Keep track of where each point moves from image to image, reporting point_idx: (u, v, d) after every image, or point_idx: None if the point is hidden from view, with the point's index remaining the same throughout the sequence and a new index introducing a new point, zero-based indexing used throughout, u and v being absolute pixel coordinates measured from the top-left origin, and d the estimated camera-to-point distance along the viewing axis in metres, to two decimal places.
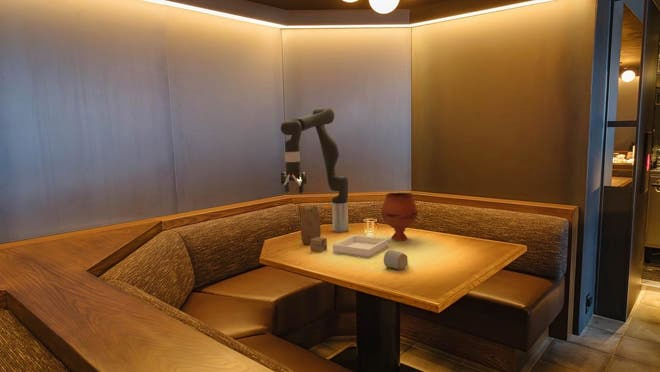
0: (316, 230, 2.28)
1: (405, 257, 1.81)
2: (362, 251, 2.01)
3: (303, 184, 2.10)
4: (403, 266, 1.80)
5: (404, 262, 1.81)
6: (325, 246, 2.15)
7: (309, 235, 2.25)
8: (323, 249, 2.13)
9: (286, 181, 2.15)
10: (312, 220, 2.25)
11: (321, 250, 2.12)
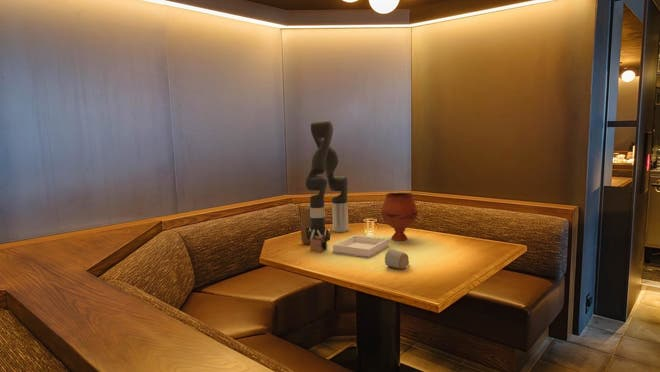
0: None
1: (406, 257, 1.81)
2: (362, 251, 2.01)
3: None
4: (404, 265, 1.81)
5: (405, 262, 1.81)
6: None
7: None
8: None
9: (312, 237, 2.14)
10: None
11: (321, 250, 2.12)
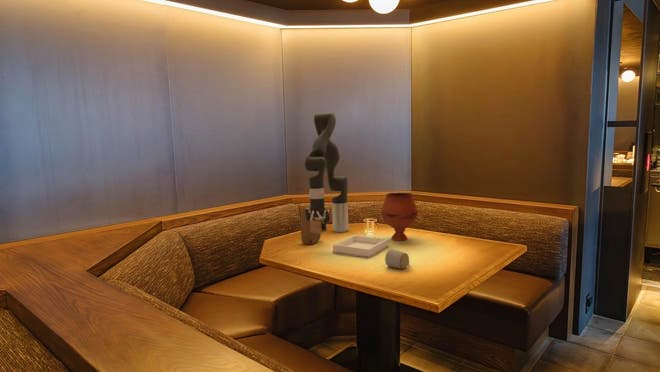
0: None
1: (406, 256, 1.81)
2: (362, 251, 2.01)
3: None
4: (404, 265, 1.81)
5: (406, 262, 1.82)
6: None
7: (309, 235, 2.25)
8: None
9: (311, 218, 2.13)
10: None
11: (321, 231, 2.11)
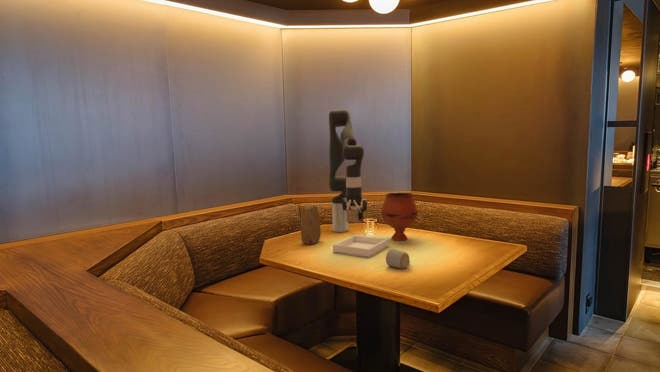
0: (316, 230, 2.28)
1: (407, 256, 1.82)
2: (362, 251, 2.01)
3: (363, 211, 2.07)
4: (405, 265, 1.81)
5: (406, 261, 1.82)
6: None
7: (309, 235, 2.25)
8: None
9: (348, 207, 2.11)
10: (312, 220, 2.25)
11: (357, 220, 2.08)
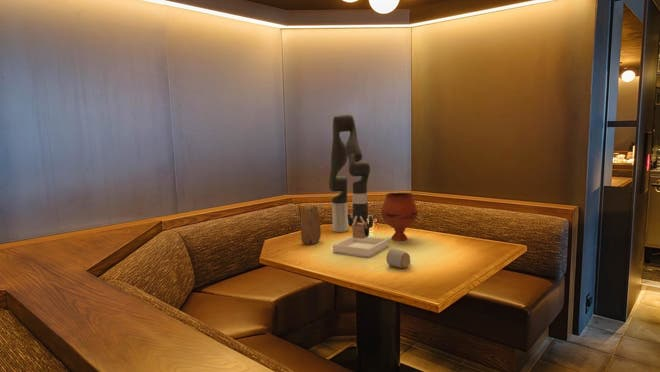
0: (316, 230, 2.28)
1: (408, 256, 1.82)
2: (362, 251, 2.01)
3: None
4: (406, 265, 1.82)
5: (407, 261, 1.82)
6: None
7: (309, 235, 2.25)
8: None
9: (354, 223, 2.12)
10: (312, 220, 2.25)
11: (364, 236, 2.09)
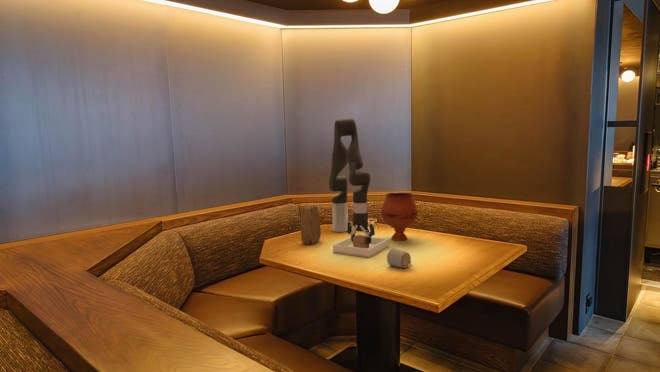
0: (316, 230, 2.28)
1: (408, 256, 1.82)
2: (362, 251, 2.01)
3: (372, 235, 2.08)
4: (406, 265, 1.82)
5: (407, 261, 1.82)
6: (367, 244, 2.13)
7: (309, 235, 2.25)
8: (366, 247, 2.12)
9: (353, 231, 2.13)
10: (312, 220, 2.25)
11: None
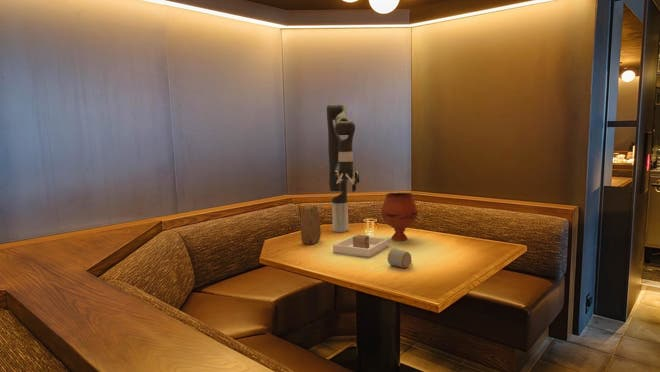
0: (316, 230, 2.28)
1: (409, 255, 1.83)
2: (362, 251, 2.01)
3: None
4: (407, 264, 1.82)
5: (408, 261, 1.83)
6: (367, 244, 2.13)
7: (309, 235, 2.25)
8: (366, 247, 2.12)
9: (339, 180, 2.22)
10: (312, 220, 2.25)
11: None
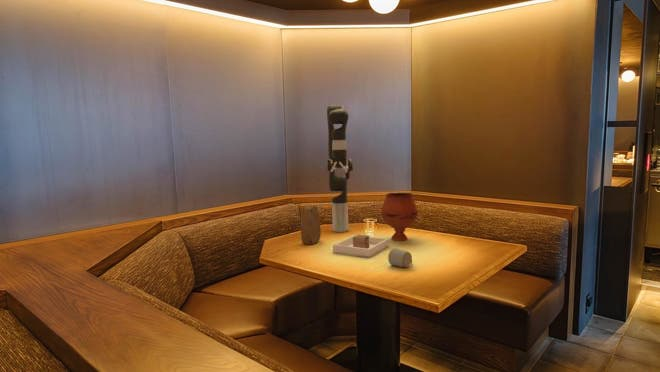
0: (316, 230, 2.28)
1: (409, 255, 1.83)
2: (362, 251, 2.01)
3: None
4: (407, 264, 1.83)
5: (409, 260, 1.83)
6: (367, 244, 2.13)
7: (309, 235, 2.25)
8: (366, 247, 2.12)
9: (333, 168, 2.26)
10: (312, 220, 2.25)
11: None
